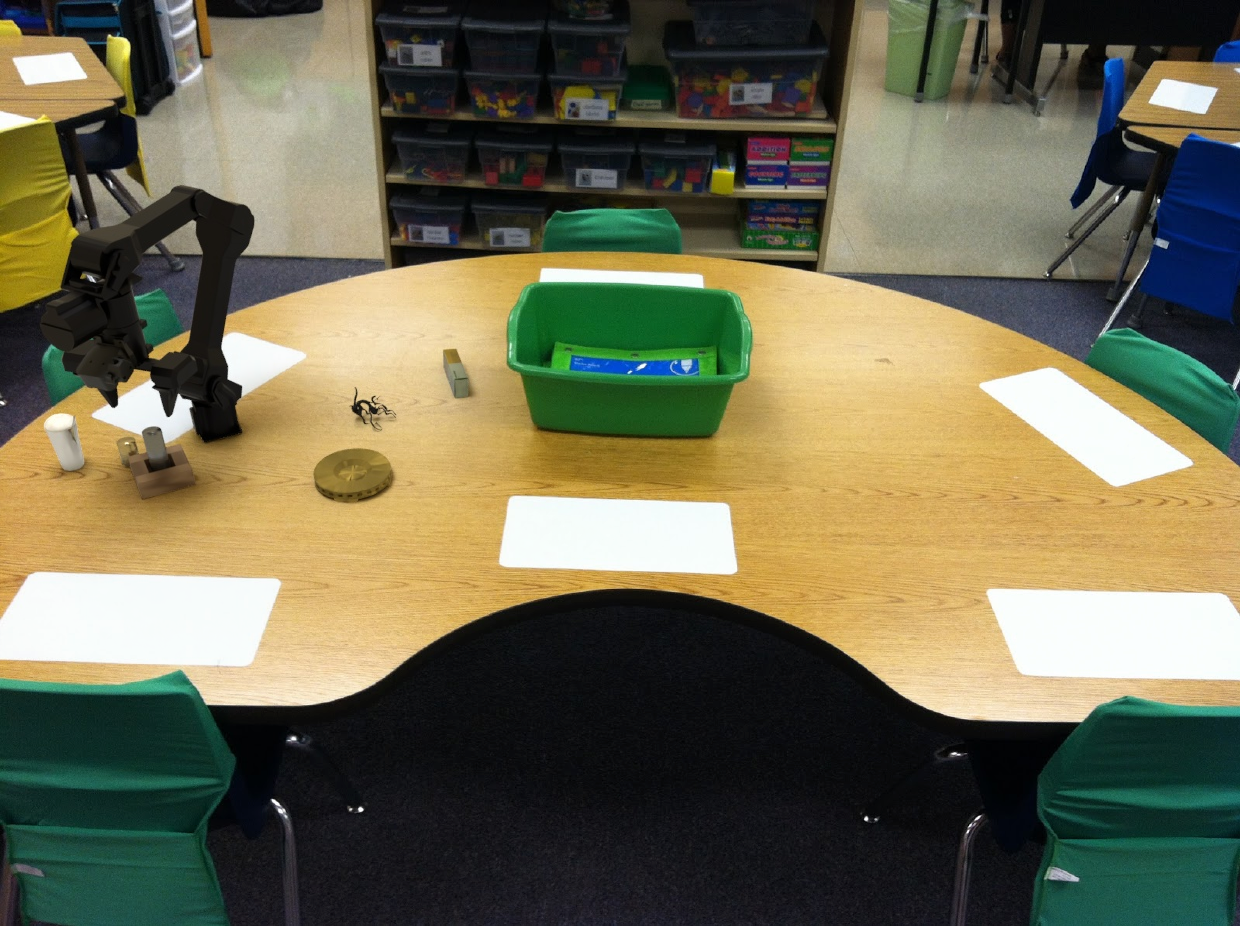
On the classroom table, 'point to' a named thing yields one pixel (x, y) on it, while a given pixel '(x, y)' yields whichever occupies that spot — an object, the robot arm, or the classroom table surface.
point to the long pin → (156, 448)
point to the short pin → (127, 449)
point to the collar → (162, 473)
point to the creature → (358, 410)
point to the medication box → (455, 373)
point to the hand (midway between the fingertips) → (142, 411)
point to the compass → (352, 474)
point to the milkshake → (65, 440)
